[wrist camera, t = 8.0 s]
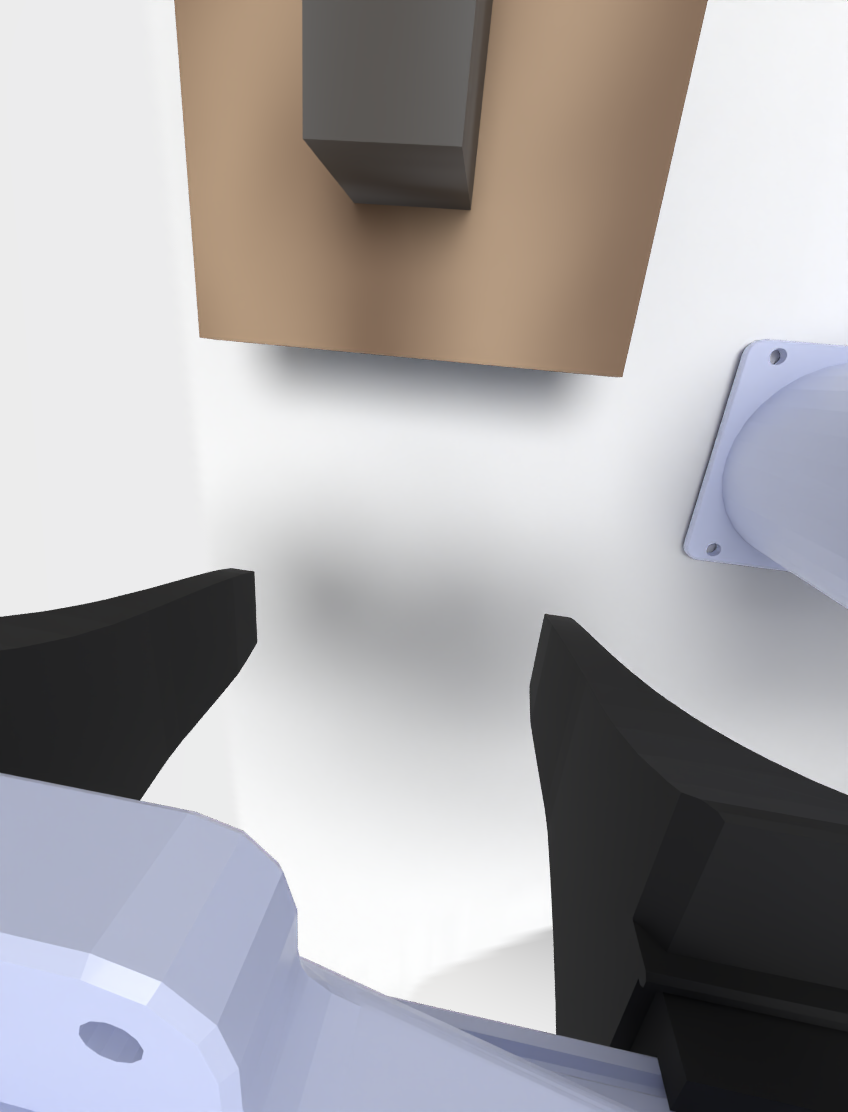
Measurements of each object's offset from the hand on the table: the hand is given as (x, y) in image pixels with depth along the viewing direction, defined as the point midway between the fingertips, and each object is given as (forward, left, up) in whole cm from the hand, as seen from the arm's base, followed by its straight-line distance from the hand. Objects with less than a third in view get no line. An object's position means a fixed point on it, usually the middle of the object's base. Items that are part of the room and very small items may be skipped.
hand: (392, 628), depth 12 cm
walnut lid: (+1, -12, -5) cm, 13 cm away
